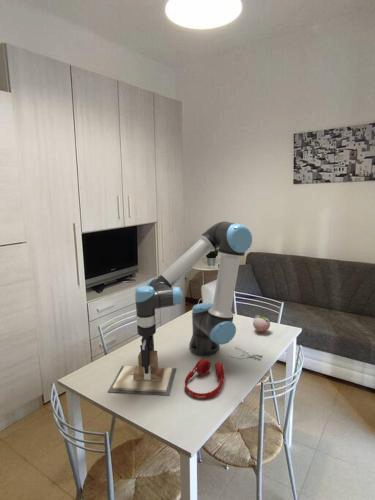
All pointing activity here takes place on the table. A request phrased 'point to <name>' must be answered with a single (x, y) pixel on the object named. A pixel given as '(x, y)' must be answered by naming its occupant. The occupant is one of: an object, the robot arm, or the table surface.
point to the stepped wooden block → (155, 371)
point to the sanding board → (142, 383)
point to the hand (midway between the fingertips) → (149, 375)
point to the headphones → (203, 369)
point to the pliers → (253, 355)
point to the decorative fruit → (261, 323)
